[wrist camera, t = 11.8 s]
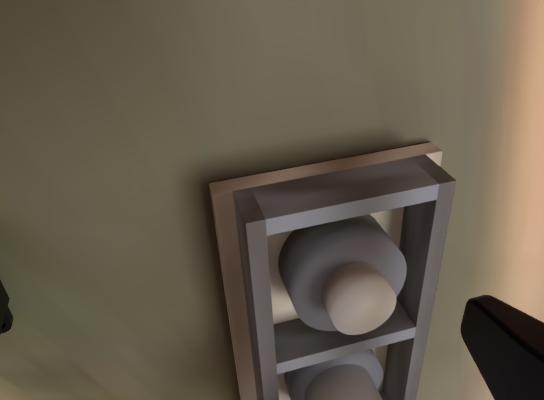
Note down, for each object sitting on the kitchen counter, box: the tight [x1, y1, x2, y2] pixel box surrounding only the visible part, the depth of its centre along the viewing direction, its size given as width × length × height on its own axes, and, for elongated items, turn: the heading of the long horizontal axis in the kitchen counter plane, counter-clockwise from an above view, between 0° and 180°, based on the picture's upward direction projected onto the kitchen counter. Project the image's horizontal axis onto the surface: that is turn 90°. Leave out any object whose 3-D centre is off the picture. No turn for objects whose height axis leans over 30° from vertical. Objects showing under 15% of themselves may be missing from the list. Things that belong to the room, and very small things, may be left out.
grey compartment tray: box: [209, 142, 456, 400], centre depth 26 cm, size 11×18×5 cm, turn 2°
